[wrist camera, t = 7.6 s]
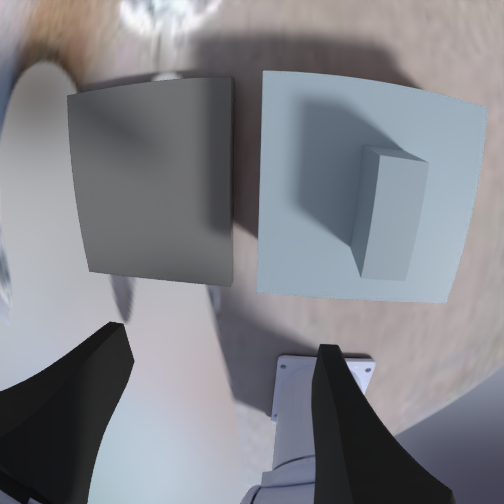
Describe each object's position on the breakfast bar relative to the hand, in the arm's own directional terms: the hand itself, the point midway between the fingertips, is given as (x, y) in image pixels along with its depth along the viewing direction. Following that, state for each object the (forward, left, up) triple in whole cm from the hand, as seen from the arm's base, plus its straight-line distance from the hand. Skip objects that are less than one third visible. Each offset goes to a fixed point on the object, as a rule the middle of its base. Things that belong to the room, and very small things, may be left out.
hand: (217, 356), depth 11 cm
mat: (+3, +7, -10) cm, 13 cm away
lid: (+4, -6, -7) cm, 10 cm away
